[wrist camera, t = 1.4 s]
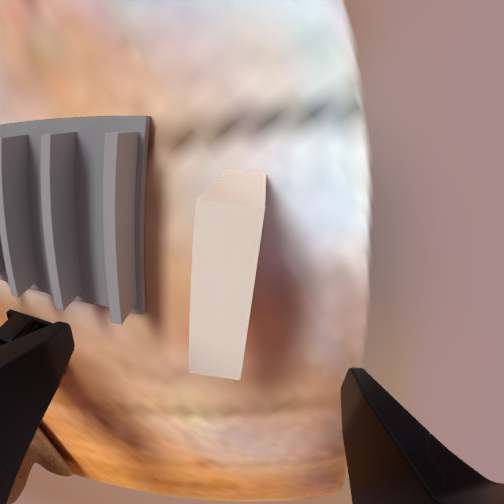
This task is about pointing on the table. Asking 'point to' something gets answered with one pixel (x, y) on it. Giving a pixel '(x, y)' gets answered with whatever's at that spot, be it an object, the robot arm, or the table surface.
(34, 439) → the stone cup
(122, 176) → the dish rack
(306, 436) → the table surface
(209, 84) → the table surface
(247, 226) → the beige upright tile
